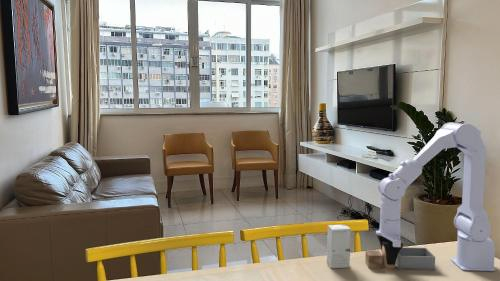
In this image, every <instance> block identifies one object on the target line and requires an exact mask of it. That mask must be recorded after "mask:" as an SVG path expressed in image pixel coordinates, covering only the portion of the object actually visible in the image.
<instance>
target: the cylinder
mask: <svg viewBox="0 0 500 281" xmlns="http://www.w3.org/2000/svg"><path fill="white" fill-rule="evenodd" d="M381 255H382V268H386V269H395V268H396V266H397V265H396V262H395V265H388V264H387V261H386V252H385V248H384V245H382V251H381Z"/></svg>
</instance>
